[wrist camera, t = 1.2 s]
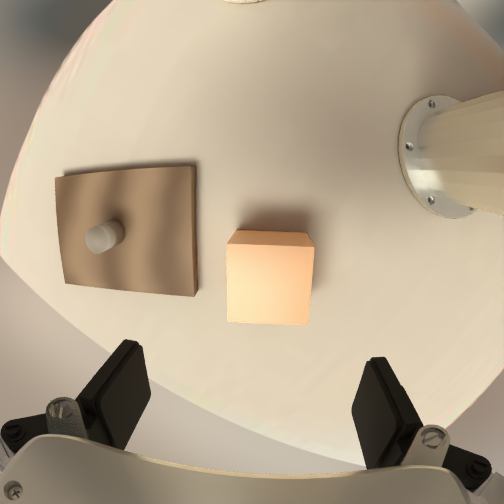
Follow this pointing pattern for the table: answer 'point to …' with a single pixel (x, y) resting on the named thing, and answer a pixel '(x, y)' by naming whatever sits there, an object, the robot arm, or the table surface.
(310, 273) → the light orange cube
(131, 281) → the base plate
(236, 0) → the wine bottle
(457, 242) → the table surface
